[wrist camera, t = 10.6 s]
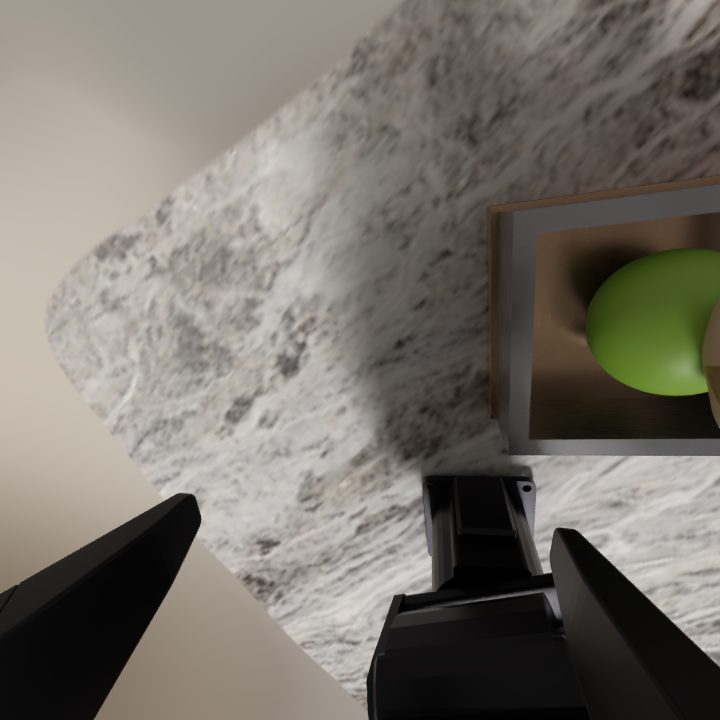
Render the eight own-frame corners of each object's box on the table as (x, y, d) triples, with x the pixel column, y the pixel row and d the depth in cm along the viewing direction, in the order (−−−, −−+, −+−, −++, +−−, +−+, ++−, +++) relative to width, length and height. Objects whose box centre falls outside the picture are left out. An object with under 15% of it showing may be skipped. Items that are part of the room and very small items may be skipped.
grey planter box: (711, 404, 18) (793, 461, 14) (488, 409, 20) (502, 459, 16) (769, 168, 14) (904, 151, 10) (487, 206, 17) (506, 205, 13)
